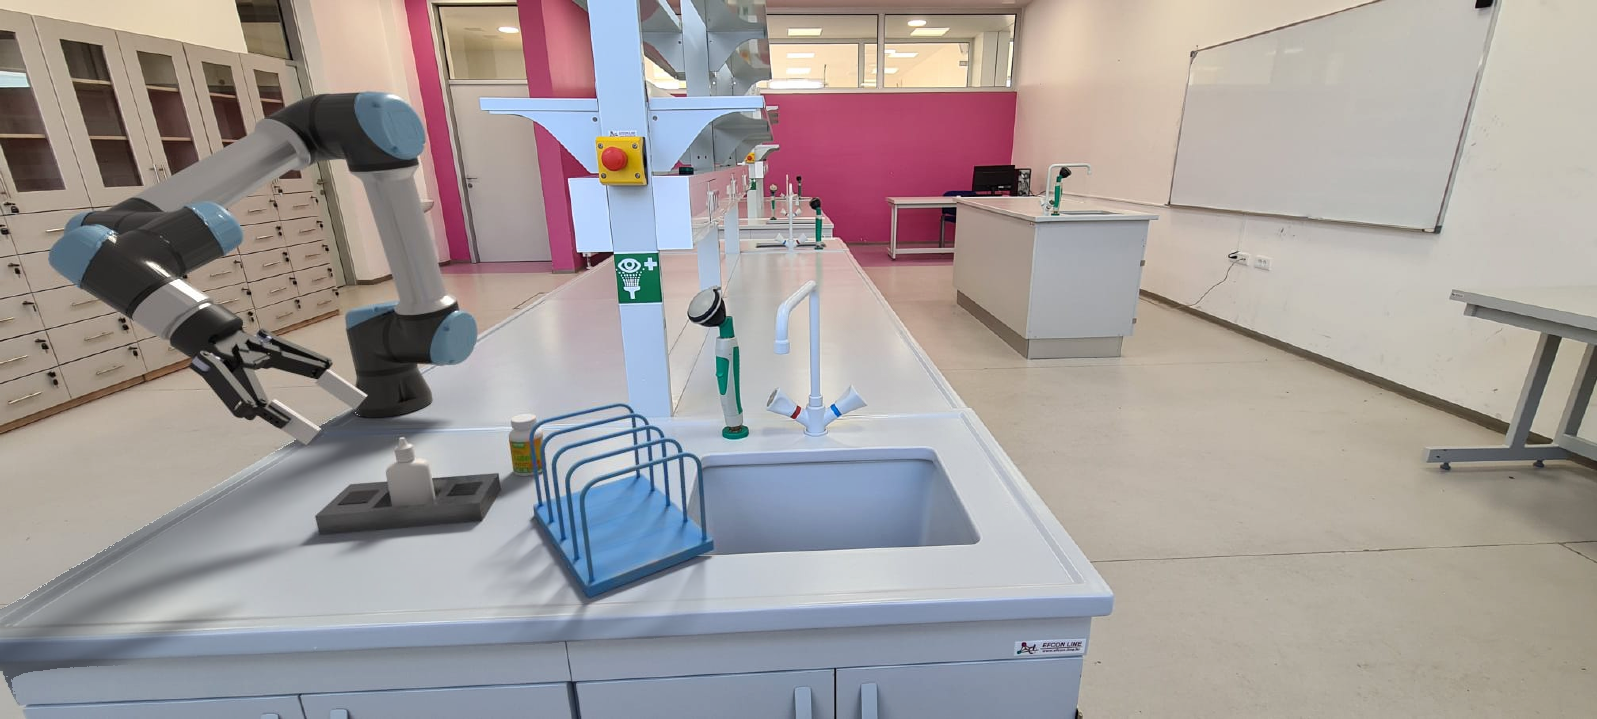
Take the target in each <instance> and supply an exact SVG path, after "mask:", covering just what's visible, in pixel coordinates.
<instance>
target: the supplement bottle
mask: <svg viewBox="0 0 1597 719" xmlns="http://www.w3.org/2000/svg"><path fill="white" fill-rule="evenodd" d="M537 423H538V420H537V416H536V415H535V414H534V413H524V414H523V413H522V414H518V415H515V416H513V417H511V419H510V425H511V428H512V429H511V430H510V431H509V433H508V442H509V448H510V450H509V451H510V458H511V464H512V469H513V473H514V474H515V475H516V476H518V477H519V476H520V477H529V476H534V471H533V464H532V457H531V450H530V441H529V437H530V432H531V430H532V428H533V427H534V426H535V425H536V424H537ZM543 440H544V435H543V430H542V428H541V426H540V427H539V428H538V429H537V430H536V432H535V433H534V448H535V456H536V463H537V469H538V474H540V473H543V472H542V465H541V457H540V447H541V444H542V442H543ZM545 461H546V462H547V458H546V456H545Z"/></svg>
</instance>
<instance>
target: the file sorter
mask: <svg viewBox="0 0 1597 719" xmlns="http://www.w3.org/2000/svg"><path fill="white" fill-rule="evenodd" d="M614 408H624V409H625V408H626V410H628V411H629V413H626V414H622V415H617V416H613V417H608V418H603V419H600V420H595V421H591V422H586V423H582V424H577V425H574V426H569V427H565V428H560V429H558V430H555V431H552V432H551V433H549V434H548V435H547V436H546V437H544V438H543V442H542V444H541V447H540V457H541V465H542V472H541V473H542V478H543V479H542V480H543V484H544V485H543V486H544V487H543V488H544V493H545V494H544V495H545V498H546V500H544V501H543V499H542V490H541V484H540V478H539V473H538V469H537V463H536V456H535V448H534V433H535V432H536V430H537V429H538V428H539V427H540V428H541V426H542V425H545V424H547V423H552V422H556V421H561V420H564V419H568V418H573V417H576V416H581V415H586V414H590V413H595V412H598V411H603V410H605V411H606V410H608V409H609V410H610V409H614ZM637 418H638V419H640V420H642V421H643V423H644V425H641V426H637V421H636V419H637ZM627 419H631V426H632V428H628V429H624V430H619V431H615V432H612V433H607V434H604V435H601V436H600V435H599V436H596V437H595V436H594V437H592V438H588V439H584V440H580V441H576V442H572V443H569V444H566V445H564V446H562V447H560V448H559V449H558V450H557V451H556V453H555V454H554V455H553V457H552V460H551V475H552V481H553V488H554V489H553V490H554V497H555V498H551V493H550V484H549V476H548V470H547V469H548V468H547V460H546V461H545V457H546V446H547V444H548V443H549V441H550V440H551V439H553V438H555V437H556V436H559V435H562V434H567V433H571V432H575V431H579V430H583V429H587V428H591V427H596V426H600V425H604V424H609V423H613V422H618V421H622V420H627ZM651 430H654V431H656V432H657V433H658V434H659V437H660V438H657V439H653V440H652V438H651ZM642 431H645V432H646V434H645V435H646V442H641V443H638V432H642ZM630 434H632V436H633V445H630V446H627V447H623V448H619V449H615V450H610V451H608V452H607V451H606V452H604V453H599V454H595V455H593V456H589V457H585V458H583V459H580V460H578V461H577V462H575V463H573V464H572V465H571V466H570V467H569V469H568V471H567V473H566V475H565V481H564V483H565V487H564V488H565V494H564V495H561V494H560V487H559V480H558V473H557V472H558V471H557V470H558V469H557V464H558V459H559V458H560V456H562V455H563V453H565V452H566V451H568V450H572V449H575V448H578V447H582V446H586V445H590V444H593V443H598V442H602V441H605V440H609V439H613V438H617V437H622V436H625V435H630ZM529 441H530V450H531V457H532V464H533V471H534V475H533V476H534V483H535V484H534V485H535V490H536V496H537V497H536V498H537V502H538V503H535V504H533V515H534V516H535V518H536V519H537V520H538V523H539V524H540V526H541V527H542V528H543V531H544V532H545V533H546V535H547V536H548V538H549V539H550V541H551V543H552V544H553V545H554V547H555V549H556V551H557V552H558V553H559V555H560V557H561V558H562V559H563V561H564V562H565V564H566V566H567V567H568V569H569V570H570V572H571V574H572V575H573V577H574V578H575V579H576V581H577V583H578V585H579V586H580V588H581V589H582V591H583V592H584V595H585V596H586V597H587V598H592V597H595V596H598V595H600V594H603V593H605V592H608V591H609V590H613V589H615V588H617V587H620V586H622V585H623V586H624V585H625V584H628V583H632V582H633V581H636V580H639V579H641V578H644V577H646V576H649V575H652V574H654V573H657V572H659V571H661V570H665V569H667V568H669V567H673V566H675V565H677V564H680V563H683V562H686V561H688V560H691V559H692V558H691V557H693V558H696V557H698V556H700V555H701V556H702V555H704V554H706V553H709V552H711V551H714V550H715V545H714V538H713V537H711V536H710V535H709V534H708V533H707V522H706V520H707V519H706V505H705V491H704V487H705V486H704V476H703V467H702V466H703V465H702V462H701V459H700V458H699V457H698V456H697V455H696V454H694V453H692V452H687V451H683V447H682V445H681V444H680V443H679V442H678V441H677V440H675V439H674V438H671V437H665V434H664V432H663V431H662V429H661V428H659V427H657V426H656V425H653V424H652V425H651V424H650V423H649V421H648V419H647V418H646V417H645V416H644V415H642V414H640V413H635V411H634V409H633V407H631V406H630V405H629V404H626V403H624V402H615V403H609V404H605V405H600V406H596V407H591V408H587V409H583V410H577V411H572V412H569V413H565V414H559V415H556V416H552V417H546V418H544V419H542V420H540V421H537V424H536V425H535V426H534V427H533V428H532V430H531V432H530V437H529ZM666 443H672V444H673V445H674V446H675V447H676V449H677V452H678V453H675V454H671V455H668V454H667V445H666ZM659 444H660V446H661V454H662V457H660V458H657V459H653V449H652V446H655V445H659ZM644 448H647V457H648V458H647V459H648V461H646V462H643V463H640V458H639V457H640V456H639V450H641V449H644ZM629 452H634V460H635V461H634V462H635V464H634V465H633V466H629V467H625V468H621V469H618V470H615V471H612V472H608V473H605V474H602V475H599V476H597V477H594V478H593V479H591V480H589V481H588V482H587V483H586V484H585V485H584V486H583V488H582V489H581V490H579V491H575V492H572V491H571V478H572V475H573V474H574V472H575V471H576V470H577V468H580V466H583V465H585V464H589V463H592V462H595V461H599V460H602V459H603V460H604V459H607V458H611V457H615V456H617V455H621V454H625V453H629ZM667 455H668V456H667ZM684 458H690V459H692V460H694V462H695V463H696V468H697V470H696V471H697V479H698V492H699V493H698V495H699V509H700V525H698V524H697V523H696V522H695V521H694V520H693V519H692V518H691V517H689V515H688V508H687V505H688V503H687V490H686V478H685V477H686V476H685V465H684V464H685V462H684ZM677 459H678V464H679V467H678V468H679V480H680V481H679V482H680V492H681V493H680V494H681V506H682V509H681V508H680V507H679V506H677V505H676V503H674V502H673V501H672V500H671V496H670V494H671V493H670V484H669V482H670V481H669V470H668V469H669V468H668V462H672V461H674V460H677ZM661 464H662V467H663V469H662V470H663V478H664V482H663V483H664V492H665V494H664V492H662V491H661V490H660V488H658V487H657V486H656V485H655V477H654V466H657V465H661ZM646 468H649V469H648V470H649V479H648V478H647V477H646V476H645V475H644V474H643V473H641V470H642V469H646ZM633 472H635V474H634V475H629V476H628V477H624V478H619V479H617V480H614V481H610V482H607V483H603V484H599V485H596V484H598V483H600V482H602V481H605V480H609V479H612V478H617V477H619V476H623V475H626V474H630V473H633ZM595 485H596V486H595Z"/></svg>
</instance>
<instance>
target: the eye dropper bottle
mask: <svg viewBox="0 0 1597 719" xmlns="http://www.w3.org/2000/svg"><path fill="white" fill-rule="evenodd" d="M398 439H399V440H398V445H396V446H395V447H394V455H395V459H396V461H395V462H392V463H391V464H389V465H388V467H387V468H386V470H385V476H386V481H387V483H388V488H389V493H390V498H391V503H392V507H394V506H406V505H419V504H431V503H432V502H433V500H434V499H435V498H436V497H435V492H434V486H433V481H432V478H433V477H432V471H431V466H430V462H429V461H428V460H427V459H424V458H419V457H416V454H415V448H414V445H413V443H408V441H407V440H406V437H405V436H402V437H401V436H400V437H399V438H398Z"/></svg>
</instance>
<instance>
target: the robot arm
mask: <svg viewBox="0 0 1597 719" xmlns="http://www.w3.org/2000/svg"><path fill="white" fill-rule="evenodd" d="M426 140H427V139H426V131H425V128H424V125H423V122H422V120H421V118H420V116H419V114H418V113H417V111H416V109H414V108H413V107H412V105H410V104H409V103H407V102H406V101H405V99H403V98H402V97H400V96H398V95H396V94H393V93H391V92H383V91H369V90H367V91H361V92H344V93H343V92H341V93H340V92H339V93H338V92H337V93H318V94H315V95H309V96H307V97H305V98H301V99H300V100H297V101H295V102H294V103H291V104H289V105H287V106H285V107H283V108H281V109H279V110H277V111H276V112H274V113H272V114H270V115H268V116H265V117H264V118H262V119H261V120H259V121H258V122H256V123H255V125H254V130H253V132H250V133H249V134H247V135H245V136H244V137H242V138H240V139H238V140H236V141H233V142H232V143H230V144H229V145H226V146H225V147H223V148H221V149H219V150H217V151H216V152H214V153H212V154H209V155H208V156H206V157H205V158H203V159H200V160H199V161H197V162H195V163H193V164H191V165H189V166H188V167H186V168H184V169H182V170H179V171H178V172H176V173H175V174H171V175H170V176H169V177H167V178H165V179H163V180H162V181H159V182H158V183H156V184H154V185H152V186H149V187H148V188H146V189H144V190H143V191H140V192H139V193H136V194H135V195H133V196H131V197H129V198H127V199H124V200H123V201H121V202H118V203H117V204H115V205H113V206H111V207H110V208H107V209H105V210H99V209H98V210H89V211H87V212H82V213H78V214H76V215H74V216H72V217H71V218H70V219H69V220H68V221H67V222H66V223H65V227H64V231H63V236H61V237H59V238H58V240H57V241H56V242H55V243H53V245H52V246H51V248H50V249H49V251H48V263H49V266H50V267H51V268H53V269H54V270H55V271H56V272H58V273H59V274H60V275H61V276H63V277H64V278H65V279H67V280H68V281H69V282H71V283H72V284H73V285H75V286H76V287H77V288H78V289H80V290H84V291H85V292H87V293H88V294H90V295H92V296H93V297H95V298H96V299H98V300H100V301H101V302H102V303H104V304H106V305H108V306H109V307H111V309H112V308H113V309H114V310H115V311H117V312H119V313H120V314H122V315H124V316H125V317H126V318H129V319H130V320H131V321H132V322H136V324H138V325H139V326H140V327H142V328H145V330H147V331H148V332H150V333H152V334H154V335H155V336H156V337H158V338H159V339H161V340H162V341H169V345H170V346H171V347H173V348H174V349H176V350H177V351H179V352H181V353H182V354H184V355H185V356H187V357H188V358H189V359H191V360H192V361H191V362H190V363H189V365H188V367H189V369H191V370H192V371H193V372H194V373H196V374H197V375H199V376H200V377H201V378H203V380H204V381H205V382H206V383H207V384H208V386H209V388H210V389H211V390H212V391H213V392H214V393H215V395H217V397H218V398H219V399H220V401H221V402H222V403H223V404H224V405H225V407H226V408H227V409H228V410H229V411H230V412H231V414H232V415H233V416H234V417H236V418H238V419H243V418H244V419H245V420H247V421H253V420H255V419H256V417H259V418H260V419H262V420H264V421H266V422H267V423H269V424H271V425H272V426H273V427H275V428H277V429H279V430H281V431H283V432H284V433H285V434H288V435H289V436H291V437H292V438H294V439H296V440H297V441H299V442H300V443H302V444H304V446H307V445H308V444H309V443H310V442H312V440H313V439H314V438H315V436H316V435H317V434H318V433H319V432H320V431H321V430H322V427H319V426H318V425H316V424H315V423H314V422H312V421H310V420H309V419H307V418H306V417H304V416H303V415H301V414H299V413H298V412H296V411H295V410H293V409H291V408H290V407H289V406H287V405H285V404H284V403H282V402H281V401H279V400H278V399H276V398H275V399H272V400H271V401H269V399H268V397H267V394H266V393H265V390H264V388H263V387H262V385H261V383H260V380H259V378H258V377H257V374H256V372H255V371H257V370H260V369H265V370H269V369H275V370H280V371H283V372H287V373H290V374H295V375H298V376H301V377H306V378H309V379H314V380H316V381H315V382H314V383H315V384H316V385H317V386H318V387H320V388H322V389H323V390H324V391H326V392H327V393H329V394H330V395H332V396H333V397H335V398H336V399H338V400H339V401H341V402H342V403H343V404H345V405H347V406H348V407H350V408H351V409H353V412H354V411H355V412H356V414H358V415H360V416H359V417H361V416H365V417H364V418H386V417H393V416H399V415H404V414H408V413H411V412H415V411H418V410H420V409H423V408H425V407H427V406H429V405H430V404H431V403H432V402H433V399H434V398H433V393H432V390H431V388H430V387H429V385H428V382H427V381H426V380H425V378H424V376H423V374H422V372H421V371H420V370H419V366H418V365H433V366H439V367H443V366H456V365H459V364H461V363H463V362H465V361H466V360H467V359H468V358H469V357H470V356H471V355H472V353H473V352H474V349H475V346H476V344H477V341H478V336H479V335H478V324H477V321H476V319H475V317H474V316H473V315H472V314H470V313H469V312H467V310H466V311H465V310H463V309H460V306H459V302H458V300H457V297H456V296H455V295H453V294H451V293H450V292H447V289H446V286H445V282H444V279H443V277H442V276H443V275H442V272H441V268H440V266H439V262H438V257H437V254H436V251H435V248H434V244H433V240H432V237H431V234H430V230H429V226H428V223H427V220H426V215H425V212H424V208H423V205H422V202H421V197H420V194H419V190H418V187H417V184H416V180H415V177H414V176H415V173H416V171H417V170H418V168H419V167H420V162H419V158H418V157H419V156H420V155H421V154H422V153H423V151H425V150H424V149H425V145H424V144H426ZM332 160H333V161H336V160H337V161H338V160H345V162H346V166H347V168H348V171H349V173H350V174H351V175H354V176H355V177H356V178H358V179H359V180H360V181H361V183H362V184H363V185H362V186H363V188H364V191H365V193H366V198H367V200H368V203H369V206H370V209H371V213H372V216H373V219H374V223H375V224H376V229H377V232H378V235H379V238H380V241H381V244H382V247H383V251H384V254H385V257H386V260H387V264H388V266H389V270H390V273H391V276H392V279H393V282H394V285H395V288H396V291H397V296H398V298H399V300H394V301H393V300H392V301H387V302H380V303H379V302H378V303H374V304H368V305H364V306H360V307H355V308H351V309H350V310H348V311H347V312H346V314H345V315H344V320H345V332H346V336H347V339H348V345H349V349H350V353H351V357H352V362H353V366H354V367H353V368H354V369H355V370H354V372H355V375H356V376H355V377H356V381H355V385H354V384H352V383H350V382H349V381H347V380H346V379H345V378H343V377H342V376H340V375H339V374H337V373H336V372H334V371H333V370H331V369H330V368H331V367H332V366H333V365H334V363H333V361H332V359H331V358H330V357H327V356H324V355H323V354H320V353H318V352H315V351H313V350H311V349H309V348H306V347H304V346H302V345H299V344H296V343H294V342H292V341H290V340H287V339H285V338H283V337H280V336H278V335H276V334H275V333H273V332H272V331H269V330H268V329H266V328H260V329H259V330H258V331H257V332H256V333H255V335H253V334H250V333H248V332H246V331H244V329H243V328H244V327H243V326H244V319H242V318H241V316H238V315H237V314H235V313H234V312H233V311H231V310H230V309H228V308H227V307H225V306H223V305H222V304H221V303H220V304H218V303H215V300H214V298H212V297H211V296H210V295H208V294H206V293H205V292H203V291H202V290H200V289H198V288H197V287H195V286H194V285H192V284H191V283H190V282H188V281H186V280H185V279H184V278H182V277H184V276H187V275H188V274H190V273H192V272H194V271H196V270H197V269H199V268H202V267H204V266H206V265H208V264H210V263H211V262H214V261H215V260H217V259H220V258H223V257H225V256H226V255H227V254H229V253H230V252H232V251H233V250H235V249H237V247H239V246H241V244H242V243H243V241H244V231H243V228H242V226H241V225H240V224H239V222H238V221H237V220H238V219H237V218H236V217H235V216H234V215H233V214H232V213H231V212H230V211H229V210H228V208H230V207H232V206H234V205H236V204H237V203H239V202H240V201H243V199H245V198H247V197H248V196H249V197H250V195H252V194H253V193H255V192H257V191H258V190H260V189H262V188H263V187H265V186H267V185H268V184H270V183H271V182H274V181H276V179H278V178H280V177H281V176H283V175H285V174H286V173H288V172H289V171H291V170H292V171H303V170H306V169H307V168H308V167H310V166H312V165H314V164H316V163H317V164H318V163H320V162H326V161H332ZM240 402H241V403H240ZM269 402H270V403H269ZM239 403H240V404H239Z"/></svg>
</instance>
